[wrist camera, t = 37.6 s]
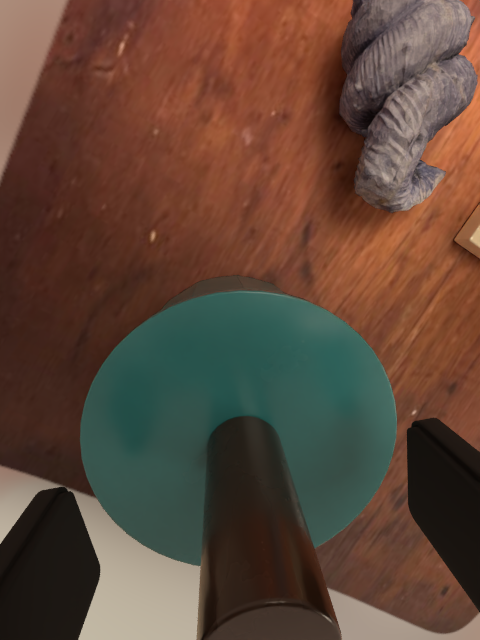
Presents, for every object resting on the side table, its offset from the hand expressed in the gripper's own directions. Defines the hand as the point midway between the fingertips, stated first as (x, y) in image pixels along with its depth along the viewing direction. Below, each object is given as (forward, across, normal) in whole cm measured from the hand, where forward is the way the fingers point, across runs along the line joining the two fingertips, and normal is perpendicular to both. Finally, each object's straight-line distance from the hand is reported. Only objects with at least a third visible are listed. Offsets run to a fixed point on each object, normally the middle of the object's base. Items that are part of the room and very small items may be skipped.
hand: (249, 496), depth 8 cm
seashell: (+11, -9, -12) cm, 19 cm away
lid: (+3, 0, 0) cm, 3 cm away
